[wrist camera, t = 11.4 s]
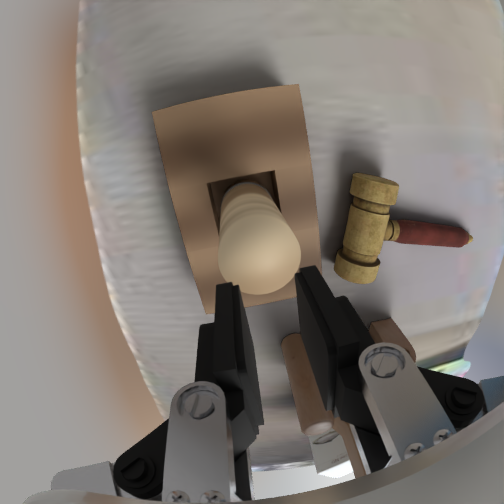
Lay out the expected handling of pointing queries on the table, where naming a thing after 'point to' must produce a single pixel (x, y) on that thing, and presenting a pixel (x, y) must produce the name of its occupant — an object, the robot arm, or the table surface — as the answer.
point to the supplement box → (330, 454)
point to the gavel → (383, 229)
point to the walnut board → (238, 173)
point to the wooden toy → (309, 396)
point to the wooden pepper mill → (255, 240)
